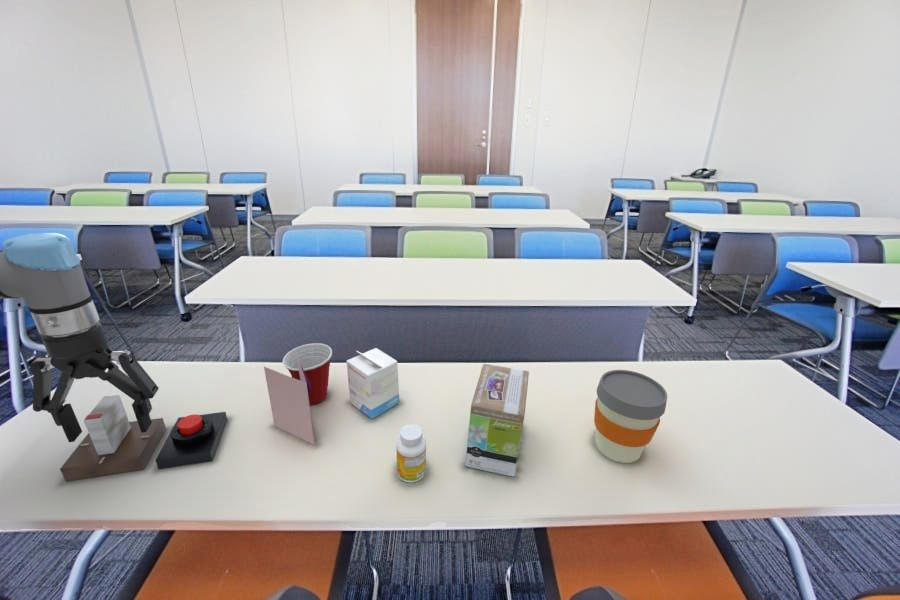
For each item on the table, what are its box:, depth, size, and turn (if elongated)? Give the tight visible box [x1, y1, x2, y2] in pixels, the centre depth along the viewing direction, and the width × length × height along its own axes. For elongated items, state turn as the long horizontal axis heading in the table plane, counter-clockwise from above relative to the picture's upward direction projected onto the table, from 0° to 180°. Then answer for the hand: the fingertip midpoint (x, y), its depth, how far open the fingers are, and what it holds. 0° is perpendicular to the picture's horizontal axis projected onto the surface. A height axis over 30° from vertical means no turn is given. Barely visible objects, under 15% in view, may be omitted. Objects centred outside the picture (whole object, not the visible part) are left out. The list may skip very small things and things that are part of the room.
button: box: [178, 414, 203, 435], centre depth 78 cm, size 4×4×2 cm
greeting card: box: [263, 356, 315, 446], centre depth 81 cm, size 11×7×15 cm, turn 28°
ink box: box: [346, 347, 400, 420], centre depth 90 cm, size 9×8×13 cm
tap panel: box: [59, 417, 167, 482], centre depth 76 cm, size 12×11×3 cm
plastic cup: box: [282, 342, 333, 406], centre depth 92 cm, size 11×11×12 cm
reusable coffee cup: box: [593, 369, 668, 464], centre depth 80 cm, size 13×13×15 cm
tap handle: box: [83, 394, 131, 455], centre depth 74 cm, size 7×2×8 cm, turn 15°
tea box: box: [464, 363, 530, 478], centre depth 79 cm, size 15×10×15 cm, turn 167°
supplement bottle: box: [395, 423, 427, 483], centre depth 73 cm, size 5×5×10 cm
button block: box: [155, 411, 228, 470], centre depth 79 cm, size 9×12×4 cm
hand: (111, 432), depth 75 cm, fingers open, 11 cm apart
